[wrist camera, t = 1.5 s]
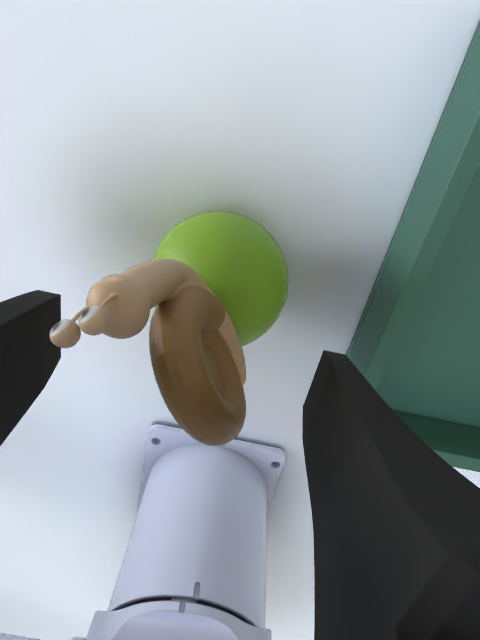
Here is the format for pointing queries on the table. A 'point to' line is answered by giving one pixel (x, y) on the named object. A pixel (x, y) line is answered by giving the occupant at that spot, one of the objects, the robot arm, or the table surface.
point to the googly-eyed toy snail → (194, 316)
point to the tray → (434, 290)
